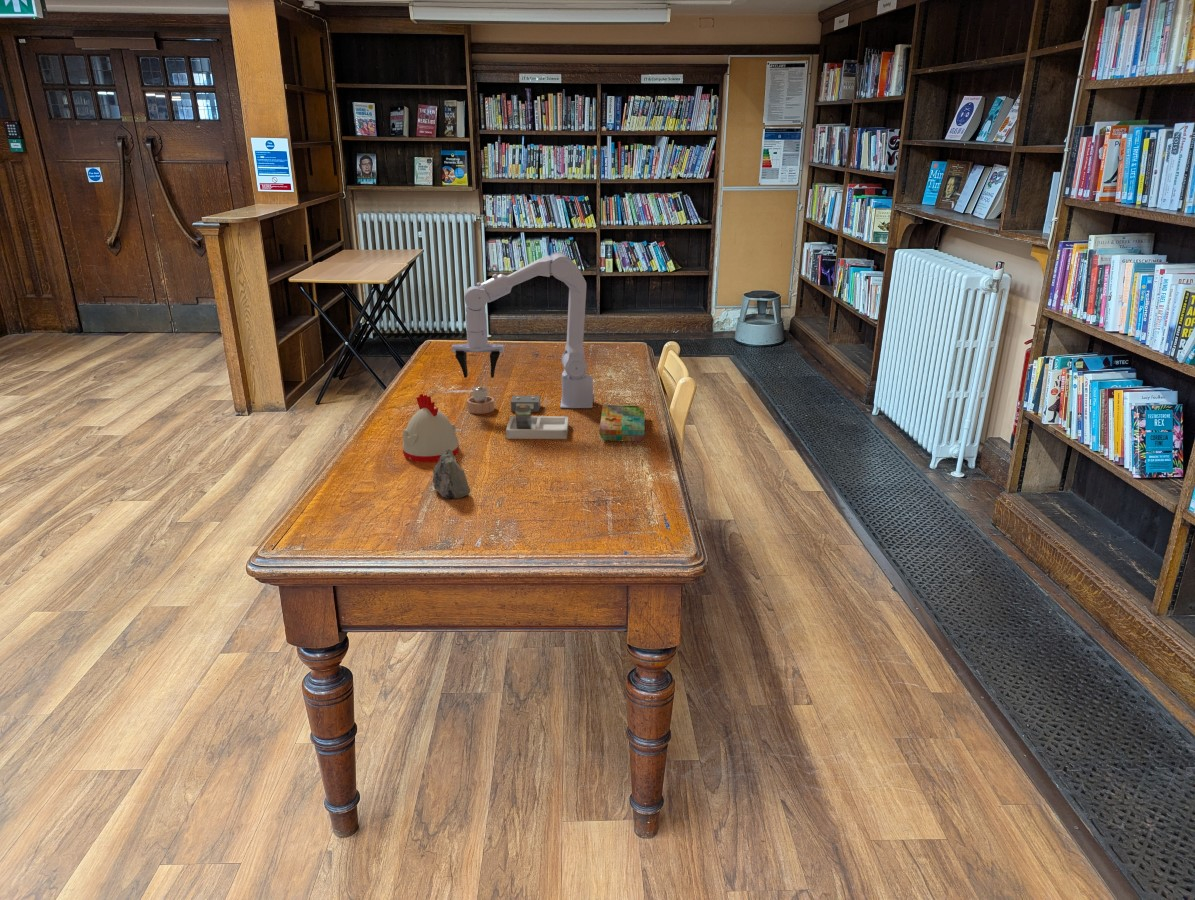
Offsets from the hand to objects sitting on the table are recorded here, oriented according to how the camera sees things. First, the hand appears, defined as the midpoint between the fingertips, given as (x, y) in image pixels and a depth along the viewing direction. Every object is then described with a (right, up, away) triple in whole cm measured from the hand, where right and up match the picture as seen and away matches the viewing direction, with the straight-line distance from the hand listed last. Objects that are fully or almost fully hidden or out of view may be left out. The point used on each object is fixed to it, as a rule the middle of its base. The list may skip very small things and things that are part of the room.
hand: (479, 376), depth 233 cm
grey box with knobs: (+13, -9, +5) cm, 16 cm away
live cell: (+14, -15, -13) cm, 25 cm away
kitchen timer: (-8, -22, -27) cm, 35 cm away
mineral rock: (+1, -30, -47) cm, 56 cm away
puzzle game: (+41, -16, -11) cm, 45 cm away
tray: (+18, -16, -13) cm, 27 cm away
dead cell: (0, -9, +3) cm, 9 cm away
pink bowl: (0, -9, +4) cm, 10 cm away
